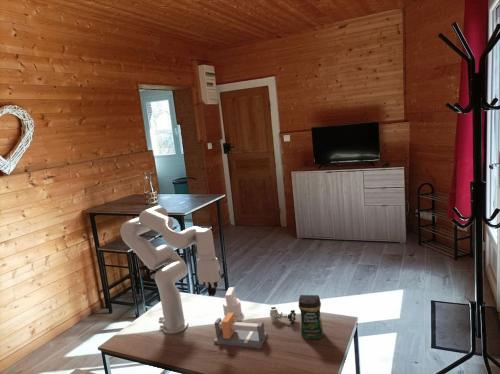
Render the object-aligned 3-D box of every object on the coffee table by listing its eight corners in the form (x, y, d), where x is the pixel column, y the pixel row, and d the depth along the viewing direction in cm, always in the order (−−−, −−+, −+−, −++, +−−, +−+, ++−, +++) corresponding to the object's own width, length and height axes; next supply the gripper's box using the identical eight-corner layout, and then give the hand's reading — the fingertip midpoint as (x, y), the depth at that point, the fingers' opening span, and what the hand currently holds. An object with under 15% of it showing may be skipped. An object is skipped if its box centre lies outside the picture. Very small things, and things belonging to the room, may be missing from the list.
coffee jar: (300, 340, 164) (296, 300, 161) (302, 329, 171) (298, 291, 168) (323, 340, 161) (319, 300, 158) (324, 330, 169) (320, 291, 166)
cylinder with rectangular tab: (226, 308, 200) (223, 287, 198) (242, 308, 198) (239, 286, 196) (222, 317, 191) (219, 295, 189) (240, 317, 190) (237, 294, 188)
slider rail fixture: (214, 343, 169) (211, 326, 168) (223, 331, 178) (220, 314, 177) (260, 348, 161) (258, 330, 160) (267, 335, 171) (265, 317, 169)
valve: (268, 323, 180) (291, 327, 175) (266, 311, 179) (290, 314, 174) (273, 316, 186) (296, 320, 181) (272, 304, 185) (295, 307, 179)
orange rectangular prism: (223, 338, 168) (221, 321, 167) (230, 328, 175) (228, 312, 174) (229, 338, 167) (227, 322, 166) (236, 328, 174) (234, 312, 173)
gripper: (187, 259, 166) (193, 297, 169) (218, 259, 161) (224, 299, 164) (195, 252, 173) (201, 290, 176) (225, 253, 168) (231, 291, 171)
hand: (212, 294), depth 170 cm, fingers closed
